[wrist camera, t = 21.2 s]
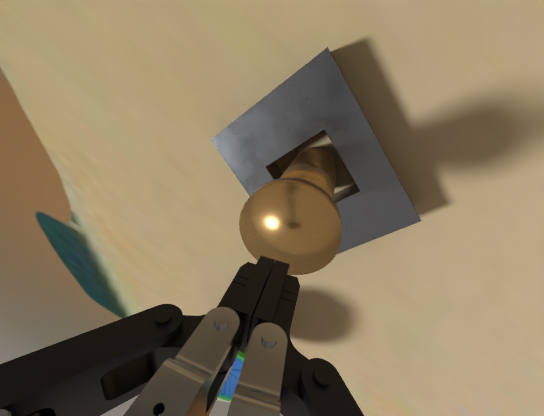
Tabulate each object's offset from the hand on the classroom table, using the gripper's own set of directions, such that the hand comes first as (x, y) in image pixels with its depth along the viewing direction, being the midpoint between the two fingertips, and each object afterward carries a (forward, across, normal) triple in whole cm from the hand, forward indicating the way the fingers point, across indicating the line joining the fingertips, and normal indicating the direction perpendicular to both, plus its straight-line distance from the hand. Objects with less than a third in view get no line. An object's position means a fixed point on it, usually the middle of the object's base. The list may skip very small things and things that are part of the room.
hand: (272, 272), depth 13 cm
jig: (+18, 0, 0) cm, 18 cm away
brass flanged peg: (+18, 0, 0) cm, 18 cm away
